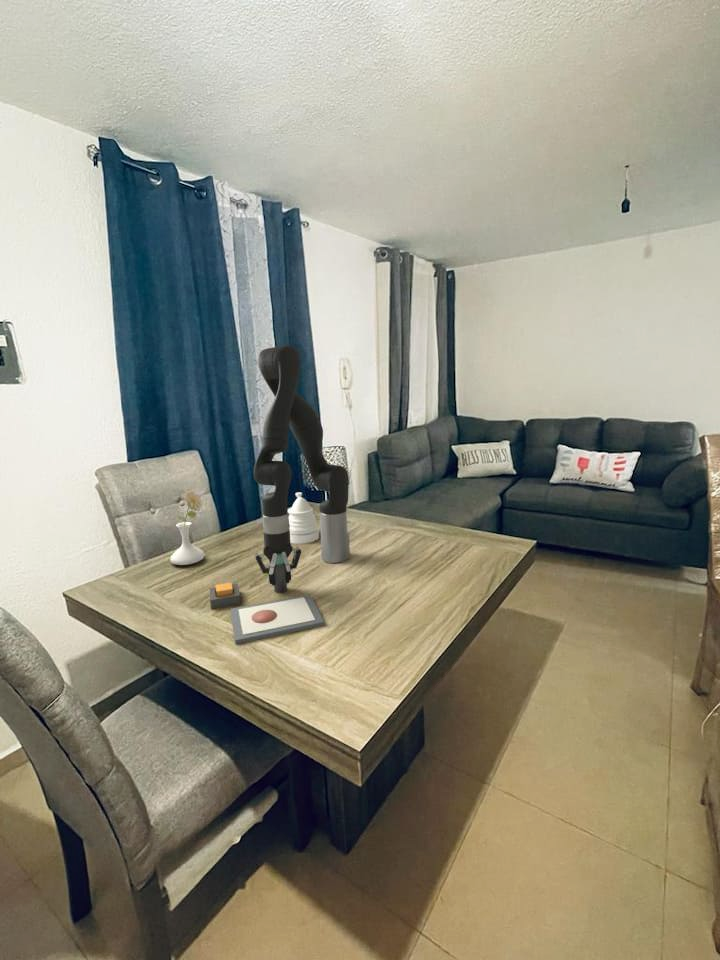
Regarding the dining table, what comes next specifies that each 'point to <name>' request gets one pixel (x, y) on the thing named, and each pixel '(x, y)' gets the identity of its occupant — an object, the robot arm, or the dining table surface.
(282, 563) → the marker
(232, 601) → the button housing
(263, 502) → the robot arm
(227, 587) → the button
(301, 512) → the honey pot
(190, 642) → the dining table surface
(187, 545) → the flower in vase
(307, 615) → the drawing board
